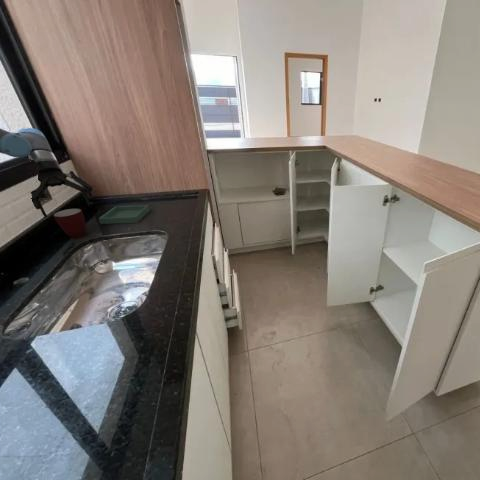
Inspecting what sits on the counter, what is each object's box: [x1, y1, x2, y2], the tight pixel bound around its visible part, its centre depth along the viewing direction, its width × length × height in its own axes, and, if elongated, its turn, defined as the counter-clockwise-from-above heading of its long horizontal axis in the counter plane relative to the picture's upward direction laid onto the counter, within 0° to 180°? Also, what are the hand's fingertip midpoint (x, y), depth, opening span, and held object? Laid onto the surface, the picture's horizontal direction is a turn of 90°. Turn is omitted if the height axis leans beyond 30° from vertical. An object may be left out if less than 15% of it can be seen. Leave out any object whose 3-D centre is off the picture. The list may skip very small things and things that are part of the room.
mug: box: [53, 208, 87, 239], centre depth 103 cm, size 11×8×10 cm
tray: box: [98, 204, 151, 225], centre depth 121 cm, size 15×15×3 cm
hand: (68, 210), depth 103 cm, fingers open, 13 cm apart
